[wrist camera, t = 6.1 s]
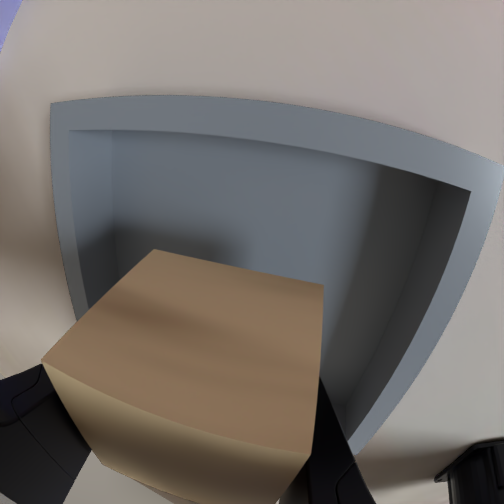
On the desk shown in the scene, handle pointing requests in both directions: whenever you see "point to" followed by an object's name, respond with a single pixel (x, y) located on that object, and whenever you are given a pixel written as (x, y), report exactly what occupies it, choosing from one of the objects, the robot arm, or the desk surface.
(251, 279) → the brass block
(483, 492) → the robot arm
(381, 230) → the tray
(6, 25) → the lavender slotted plate
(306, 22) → the desk surface
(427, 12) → the desk surface
